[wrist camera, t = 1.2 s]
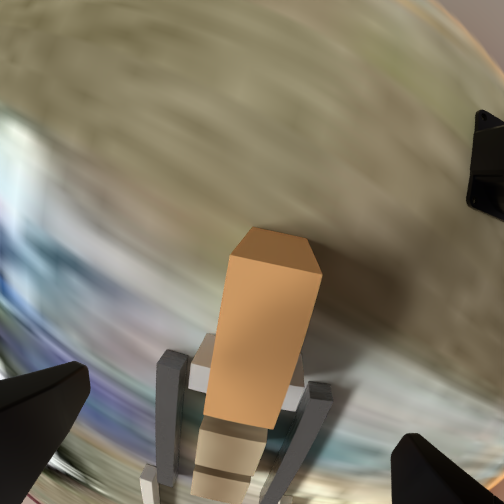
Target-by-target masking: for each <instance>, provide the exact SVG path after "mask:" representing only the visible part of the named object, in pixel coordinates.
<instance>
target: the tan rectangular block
mask: <svg viewBox="0 0 504 504" xmlns="http://www.w3.org/2000/svg"><path fill="white" fill-rule="evenodd" d="M322 275H323V274H322V272H321V270H320V267H319V265H318V263H317V261H316V258H315V256H314V254H313V252H312V249H311V247H310V245H309V243H308V240H307V238H302V237H298V236H293V235H289V234H284V233H279V232H275V231H270V230H265V229H260V228H256V227H252V228H251V229H250V231H249V232H248V233H247V234H246V236H245V237H244V238H243V239H242V241H241V242H240V243H239V244H238V246H237V247H236V248H235V249H234V251H233V252H232V253H231V254H230V258H229V263H228V269H227V274H226V280H225V285H224V291H223V297H222V303H221V308H220V314H219V320H218V326H217V332H216V336H215V335H211V334H206V336H205V338H204V340H203V342H202V343H201V345H200V347H199V349H198V351H197V353H196V355H195V357H194V359H193V361H192V362H191V368H190V377H189V386H188V388H189V389H192V390H196V391H200V392H203V393H206V399H205V406H204V412H203V415H207V416H211V417H215V418H219V419H223V420H228V421H232V422H237V423H241V424H246V425H251V426H256V427H262V428H267V429H274V426H275V424H276V421H277V418H278V416H279V413H280V410H281V409H283V410H289V411H296V409H297V406H298V403H299V401H300V398H301V396H302V393H303V391H304V388H305V386H304V373H303V361H302V354H300V351H301V348H302V345H303V342H304V338H305V335H306V332H307V329H308V325H309V322H310V318H311V315H312V312H313V308H314V305H315V301H316V298H317V294H318V290H319V287H320V283H321V279H322Z"/></svg>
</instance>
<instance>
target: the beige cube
mask: <svg viewBox="0 0 504 504" xmlns="http://www.w3.org/2000/svg"><path fill="white" fill-rule="evenodd" d="M267 431H268V429H267V428H262V427H256V426H251V425H246V424H241V423H237V422H232V421H228V420H223V419H219V418H215V417H211V416H207V415H204V418H203V421H202V423H201V426H200V429H199V436H198V443H197V450H196V457H195V464H197V465H201V466H205V467H209V468H213V469H218V470H222V471H227V472H231V473H236V474H242V475H247V476H253V475H254V473H255V471H256V468H257V466H258V463H259V461H260V458H261V456H262V453H263V451H264V448H265V446H266V442H267Z"/></svg>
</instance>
